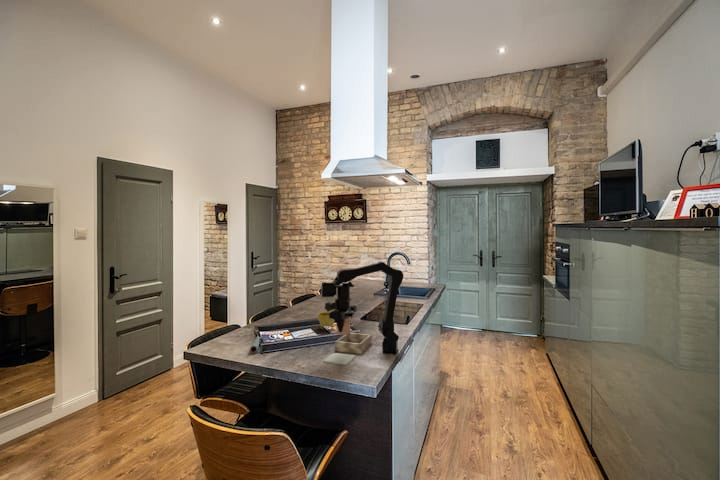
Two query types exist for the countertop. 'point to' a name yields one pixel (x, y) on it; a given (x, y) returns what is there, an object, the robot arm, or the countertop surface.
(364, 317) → the countertop surface
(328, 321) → the plant pot
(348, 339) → the cold frame
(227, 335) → the countertop surface
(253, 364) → the countertop surface
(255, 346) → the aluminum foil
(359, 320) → the countertop surface
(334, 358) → the sage tile
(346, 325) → the terracotta pot
